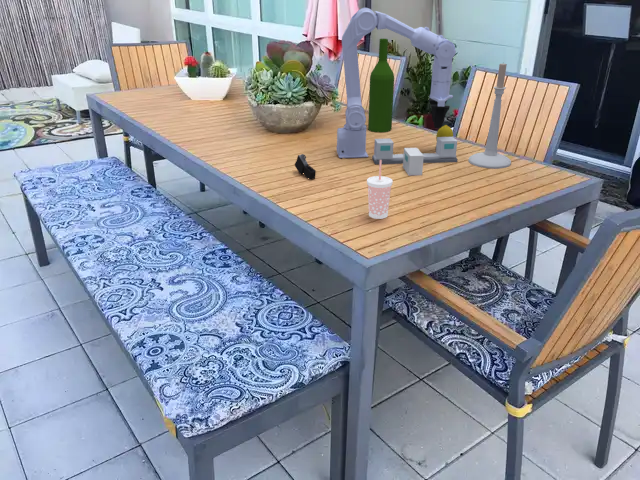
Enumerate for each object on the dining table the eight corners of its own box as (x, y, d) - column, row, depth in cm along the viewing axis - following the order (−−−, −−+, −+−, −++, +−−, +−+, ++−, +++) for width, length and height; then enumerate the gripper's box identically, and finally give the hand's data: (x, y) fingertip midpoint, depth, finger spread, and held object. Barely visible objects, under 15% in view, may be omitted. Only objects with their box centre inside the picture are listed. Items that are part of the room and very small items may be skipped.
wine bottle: (396, 130, 203) (401, 39, 188) (378, 133, 198) (382, 40, 184) (381, 125, 209) (385, 37, 195) (363, 128, 205) (366, 38, 191)
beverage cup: (368, 209, 134) (370, 155, 128) (392, 211, 132) (395, 157, 126) (363, 218, 129) (364, 162, 122) (388, 221, 127) (391, 164, 121)
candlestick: (478, 169, 161) (492, 66, 147) (462, 157, 172) (473, 59, 159) (518, 167, 162) (535, 64, 149) (499, 155, 174) (513, 58, 161)
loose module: (408, 175, 156) (409, 156, 154) (402, 167, 164) (403, 148, 161) (422, 175, 157) (423, 155, 154) (415, 166, 164) (417, 147, 161)
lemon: (452, 151, 178) (454, 127, 174) (435, 150, 179) (437, 126, 175) (451, 146, 183) (454, 123, 179) (435, 145, 184) (437, 122, 180)
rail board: (375, 164, 166) (376, 143, 163) (372, 158, 171) (372, 138, 168) (457, 161, 167) (459, 141, 165) (451, 156, 173) (453, 136, 170)
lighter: (314, 185, 157) (319, 172, 152) (307, 186, 156) (313, 174, 151) (300, 163, 160) (305, 150, 156) (294, 164, 159) (299, 151, 155)
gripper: (457, 85, 157) (452, 130, 163) (451, 77, 170) (447, 119, 176) (432, 84, 158) (428, 130, 164) (429, 76, 171) (425, 119, 177)
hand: (436, 124), depth 170 cm, fingers open, 7 cm apart
